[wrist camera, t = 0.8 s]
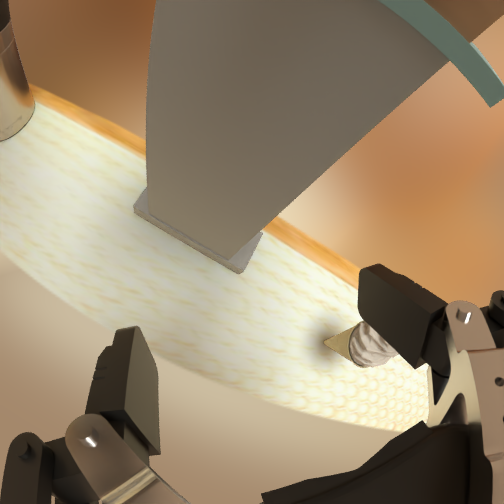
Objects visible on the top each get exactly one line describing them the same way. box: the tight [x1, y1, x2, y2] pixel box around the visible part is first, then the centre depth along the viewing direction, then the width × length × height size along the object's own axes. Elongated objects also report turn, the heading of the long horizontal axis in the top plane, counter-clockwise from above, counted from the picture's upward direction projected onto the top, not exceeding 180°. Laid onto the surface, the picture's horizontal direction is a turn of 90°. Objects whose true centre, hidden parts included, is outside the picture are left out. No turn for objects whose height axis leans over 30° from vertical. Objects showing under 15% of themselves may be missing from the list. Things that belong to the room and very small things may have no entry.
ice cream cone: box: [324, 321, 399, 368], centre depth 26 cm, size 5×5×15 cm
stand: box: [133, 0, 504, 274], centre depth 18 cm, size 14×5×30 cm, turn 64°
